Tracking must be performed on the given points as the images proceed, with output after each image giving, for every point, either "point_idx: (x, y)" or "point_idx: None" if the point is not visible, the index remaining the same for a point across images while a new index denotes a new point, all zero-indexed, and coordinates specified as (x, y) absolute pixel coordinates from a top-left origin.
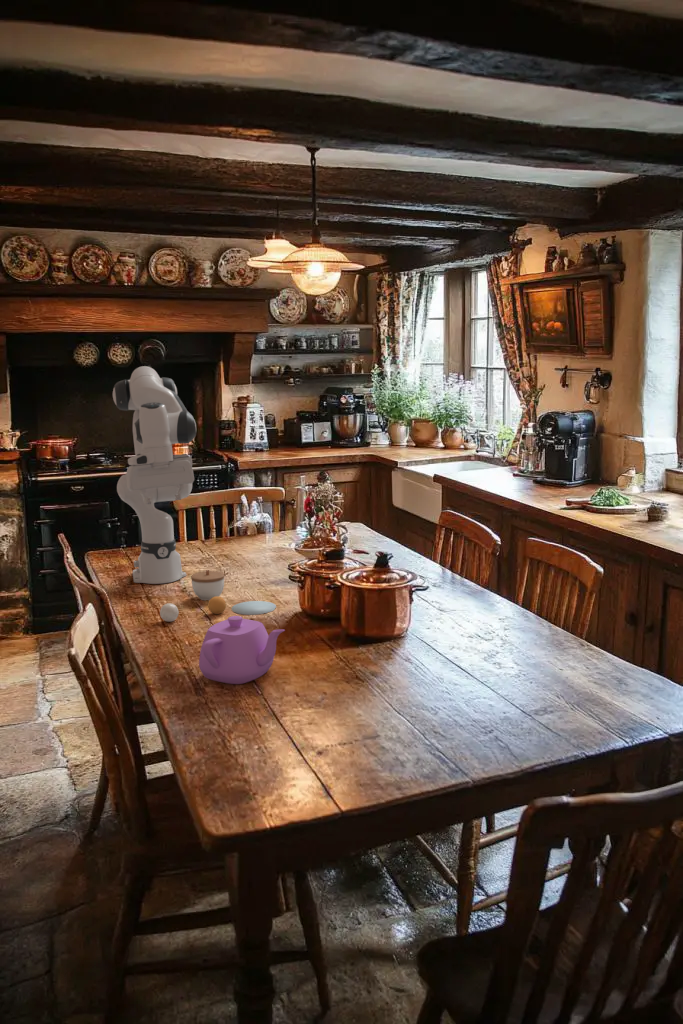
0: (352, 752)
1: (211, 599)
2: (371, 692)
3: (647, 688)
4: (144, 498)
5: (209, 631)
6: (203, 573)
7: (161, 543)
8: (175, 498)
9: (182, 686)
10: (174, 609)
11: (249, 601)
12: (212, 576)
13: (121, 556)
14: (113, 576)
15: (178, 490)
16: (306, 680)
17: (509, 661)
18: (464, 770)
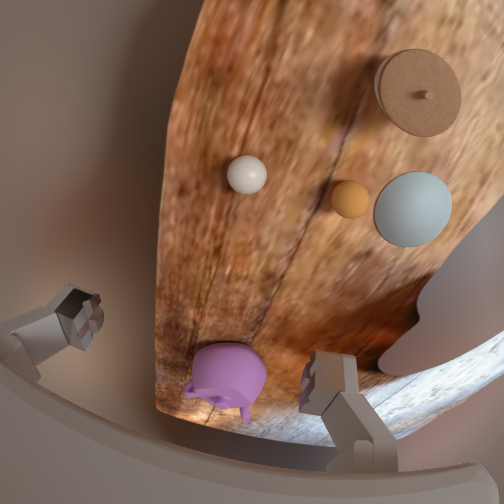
0: (234, 419)
1: (340, 204)
2: (295, 406)
3: (394, 437)
4: (46, 310)
5: (195, 391)
6: (423, 74)
7: None
8: (311, 364)
9: (179, 344)
10: (250, 193)
11: (436, 177)
12: (421, 118)
13: None
14: None
15: (360, 419)
16: (274, 384)
17: (397, 413)
18: (264, 436)
